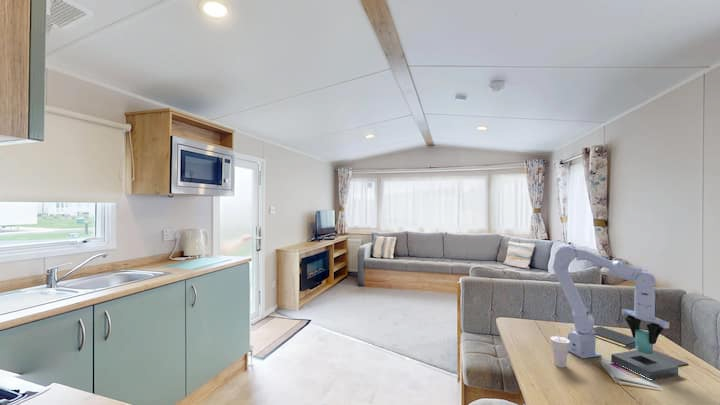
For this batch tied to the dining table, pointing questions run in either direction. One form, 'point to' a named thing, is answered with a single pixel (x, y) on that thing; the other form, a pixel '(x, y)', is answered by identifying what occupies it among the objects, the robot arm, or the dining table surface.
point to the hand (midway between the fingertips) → (644, 340)
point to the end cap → (643, 341)
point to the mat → (668, 358)
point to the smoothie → (560, 350)
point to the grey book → (615, 337)
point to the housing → (645, 364)
